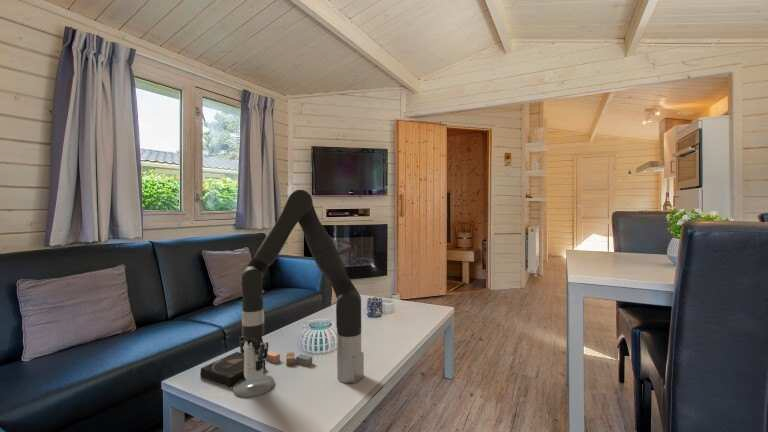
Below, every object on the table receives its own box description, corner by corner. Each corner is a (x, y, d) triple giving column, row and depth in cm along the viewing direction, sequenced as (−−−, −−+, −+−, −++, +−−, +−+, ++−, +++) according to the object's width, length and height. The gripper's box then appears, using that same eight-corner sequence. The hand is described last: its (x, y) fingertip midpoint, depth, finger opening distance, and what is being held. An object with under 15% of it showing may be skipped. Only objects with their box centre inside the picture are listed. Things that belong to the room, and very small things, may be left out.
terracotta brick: (279, 360, 148) (279, 353, 148) (274, 363, 145) (274, 356, 145) (270, 357, 151) (270, 350, 151) (264, 360, 149) (264, 353, 149)
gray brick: (312, 363, 145) (312, 356, 145) (307, 367, 142) (307, 359, 142) (301, 361, 148) (300, 354, 148) (296, 364, 145) (296, 356, 145)
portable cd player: (235, 360, 149) (235, 351, 149) (265, 369, 141) (265, 359, 141) (200, 378, 134) (200, 367, 134) (230, 388, 126) (230, 377, 126)
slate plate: (282, 383, 129) (282, 380, 129) (249, 401, 117) (249, 398, 117) (257, 373, 136) (257, 371, 136) (224, 389, 125) (224, 387, 125)
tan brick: (293, 365, 144) (293, 358, 144) (286, 365, 143) (286, 358, 143) (294, 358, 150) (294, 352, 150) (287, 359, 149) (287, 352, 149)
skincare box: (246, 381, 123) (246, 347, 123) (243, 375, 127) (243, 343, 126) (264, 376, 127) (264, 343, 126) (260, 371, 130) (260, 339, 130)
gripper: (274, 322, 125) (275, 368, 126) (249, 315, 133) (250, 359, 134) (257, 328, 119) (257, 377, 120) (231, 321, 127) (232, 366, 127)
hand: (253, 367), depth 127 cm, fingers closed on skincare box, 5 cm apart
